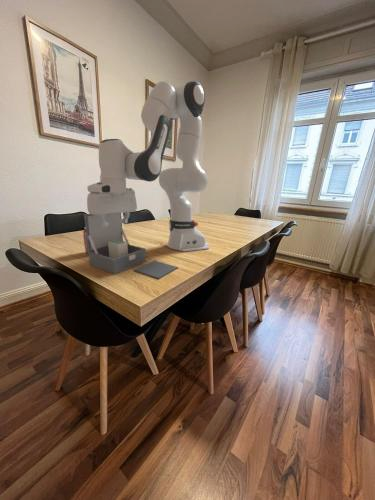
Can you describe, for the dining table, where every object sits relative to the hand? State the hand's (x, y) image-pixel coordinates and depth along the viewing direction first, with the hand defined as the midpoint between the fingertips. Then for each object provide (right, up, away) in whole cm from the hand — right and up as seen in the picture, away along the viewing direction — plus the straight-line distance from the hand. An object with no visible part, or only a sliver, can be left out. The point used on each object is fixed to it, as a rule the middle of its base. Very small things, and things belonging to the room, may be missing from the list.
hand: (115, 224), depth 80 cm
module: (0, -15, +5) cm, 16 cm away
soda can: (-15, -11, +15) cm, 25 cm away
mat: (+16, -17, 0) cm, 24 cm away
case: (0, -15, +5) cm, 16 cm away
